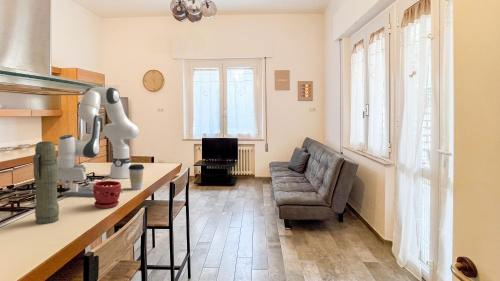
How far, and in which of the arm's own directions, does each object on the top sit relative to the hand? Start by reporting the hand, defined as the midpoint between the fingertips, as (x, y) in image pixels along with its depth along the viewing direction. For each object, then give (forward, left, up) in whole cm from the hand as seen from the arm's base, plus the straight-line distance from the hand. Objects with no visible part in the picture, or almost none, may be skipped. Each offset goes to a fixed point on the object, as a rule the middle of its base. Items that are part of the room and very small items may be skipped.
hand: (67, 188), depth 190 cm
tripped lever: (0, +4, -2) cm, 4 cm away
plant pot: (+19, +30, -4) cm, 36 cm away
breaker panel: (-5, +8, -4) cm, 10 cm away
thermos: (+43, +14, -4) cm, 45 cm away
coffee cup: (-19, +33, -4) cm, 38 cm away
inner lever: (-11, +12, -2) cm, 16 cm away
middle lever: (-5, +12, -2) cm, 13 cm away
